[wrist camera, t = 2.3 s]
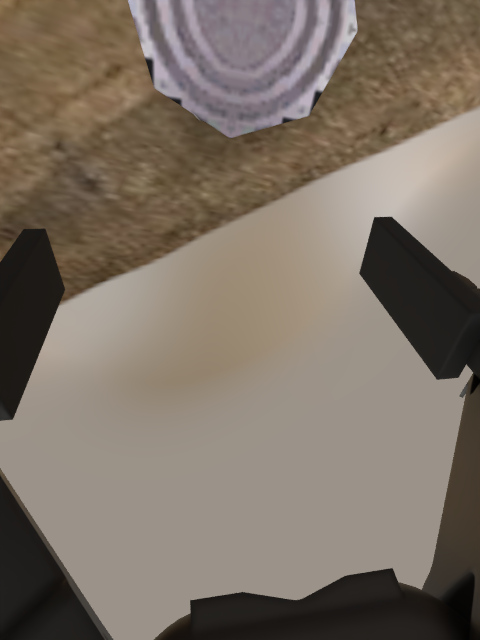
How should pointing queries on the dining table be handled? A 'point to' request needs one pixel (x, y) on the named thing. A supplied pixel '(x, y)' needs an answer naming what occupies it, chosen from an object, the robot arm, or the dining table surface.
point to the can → (244, 56)
